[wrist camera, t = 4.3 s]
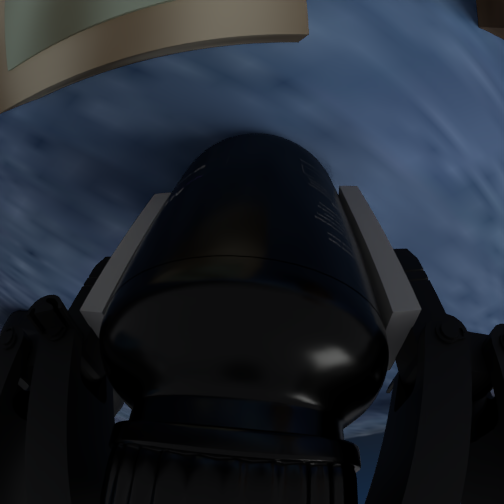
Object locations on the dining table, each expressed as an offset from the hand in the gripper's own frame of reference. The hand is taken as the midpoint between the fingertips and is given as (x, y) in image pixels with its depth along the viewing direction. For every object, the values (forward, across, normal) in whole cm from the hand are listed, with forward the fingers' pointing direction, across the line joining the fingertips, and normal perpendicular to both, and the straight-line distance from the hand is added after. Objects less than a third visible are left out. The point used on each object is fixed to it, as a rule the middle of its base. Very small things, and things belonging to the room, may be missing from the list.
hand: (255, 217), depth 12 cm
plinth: (+1, -4, +13) cm, 14 cm away
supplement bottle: (+1, 0, 0) cm, 1 cm away
